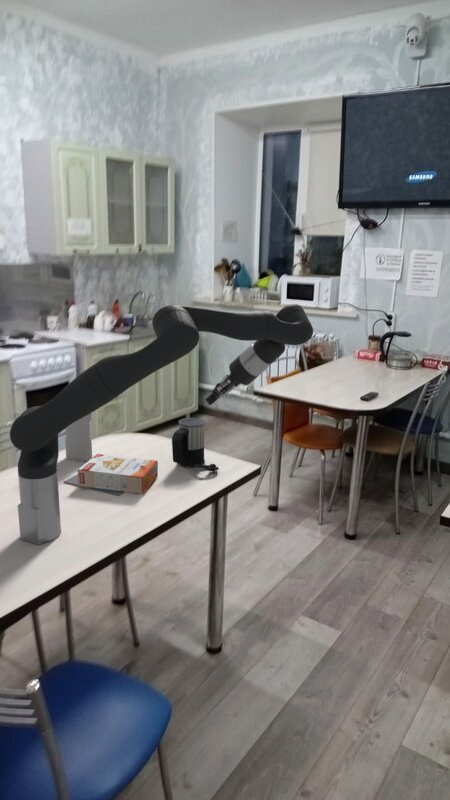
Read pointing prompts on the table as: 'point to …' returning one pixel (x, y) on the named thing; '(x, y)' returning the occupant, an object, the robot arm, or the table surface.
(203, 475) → the table surface
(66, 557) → the table surface
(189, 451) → the milk frother
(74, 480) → the mat
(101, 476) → the cracker box
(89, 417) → the tall pale column
